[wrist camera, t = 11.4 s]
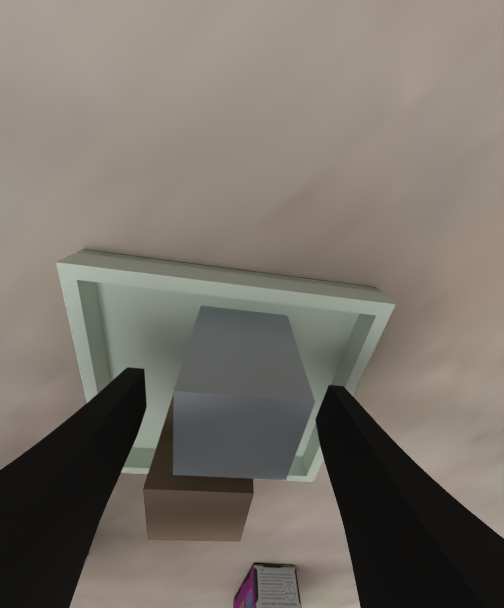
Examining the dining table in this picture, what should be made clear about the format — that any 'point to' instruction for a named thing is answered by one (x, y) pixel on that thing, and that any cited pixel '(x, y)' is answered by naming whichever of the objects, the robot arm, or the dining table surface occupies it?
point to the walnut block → (192, 499)
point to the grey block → (240, 397)
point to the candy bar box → (269, 588)
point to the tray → (180, 323)
